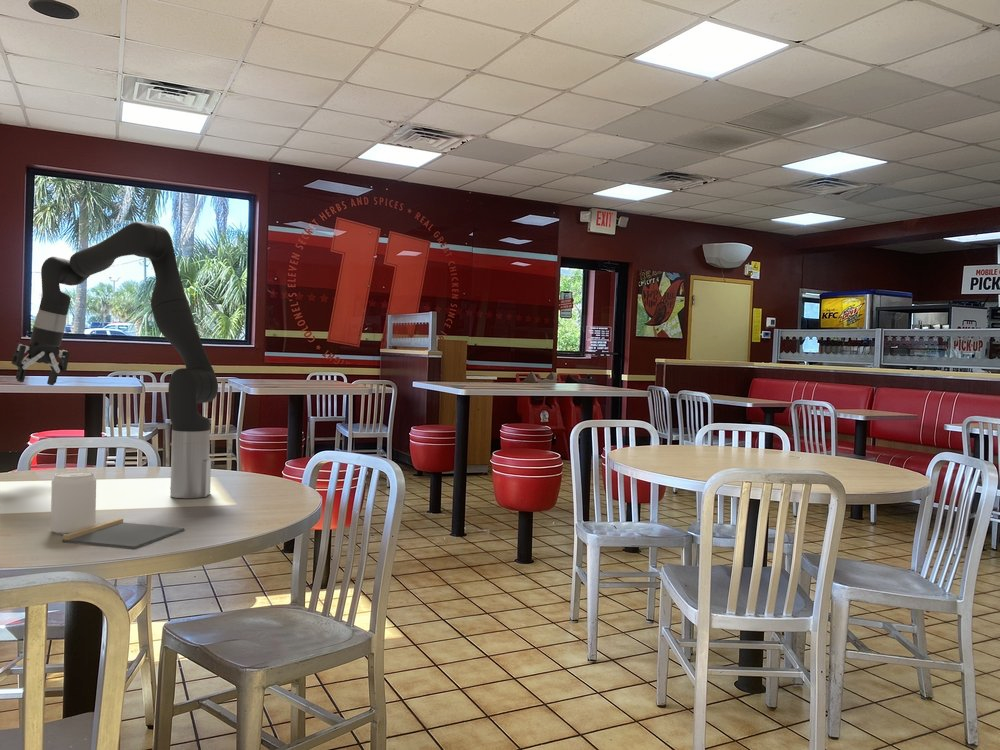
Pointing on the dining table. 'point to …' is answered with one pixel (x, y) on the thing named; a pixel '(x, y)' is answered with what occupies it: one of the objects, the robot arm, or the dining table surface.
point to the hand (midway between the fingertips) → (35, 383)
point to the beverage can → (73, 501)
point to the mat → (121, 534)
